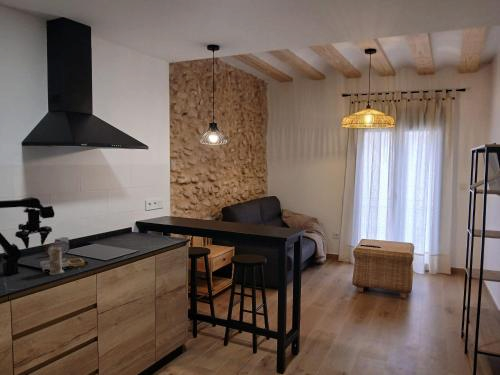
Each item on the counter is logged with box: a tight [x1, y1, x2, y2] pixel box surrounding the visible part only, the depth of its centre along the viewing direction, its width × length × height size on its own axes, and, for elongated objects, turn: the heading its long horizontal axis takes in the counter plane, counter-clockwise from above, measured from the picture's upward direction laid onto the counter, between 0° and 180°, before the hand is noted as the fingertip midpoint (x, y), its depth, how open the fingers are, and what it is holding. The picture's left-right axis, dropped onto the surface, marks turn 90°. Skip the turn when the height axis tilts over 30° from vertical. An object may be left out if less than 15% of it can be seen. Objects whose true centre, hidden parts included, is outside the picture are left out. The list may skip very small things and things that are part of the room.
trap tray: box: [66, 257, 86, 268], centre depth 229 cm, size 8×10×2 cm
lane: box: [39, 258, 69, 272], centre depth 223 cm, size 14×10×3 cm
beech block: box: [49, 247, 63, 273], centre depth 213 cm, size 5×5×13 cm
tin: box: [44, 241, 71, 257], centre depth 248 cm, size 15×3×8 cm, turn 141°
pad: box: [48, 268, 65, 276], centre depth 214 cm, size 7×7×1 cm
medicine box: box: [54, 236, 70, 245], centre depth 258 cm, size 8×4×9 cm, turn 163°
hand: (34, 246), depth 218 cm, fingers open, 9 cm apart
